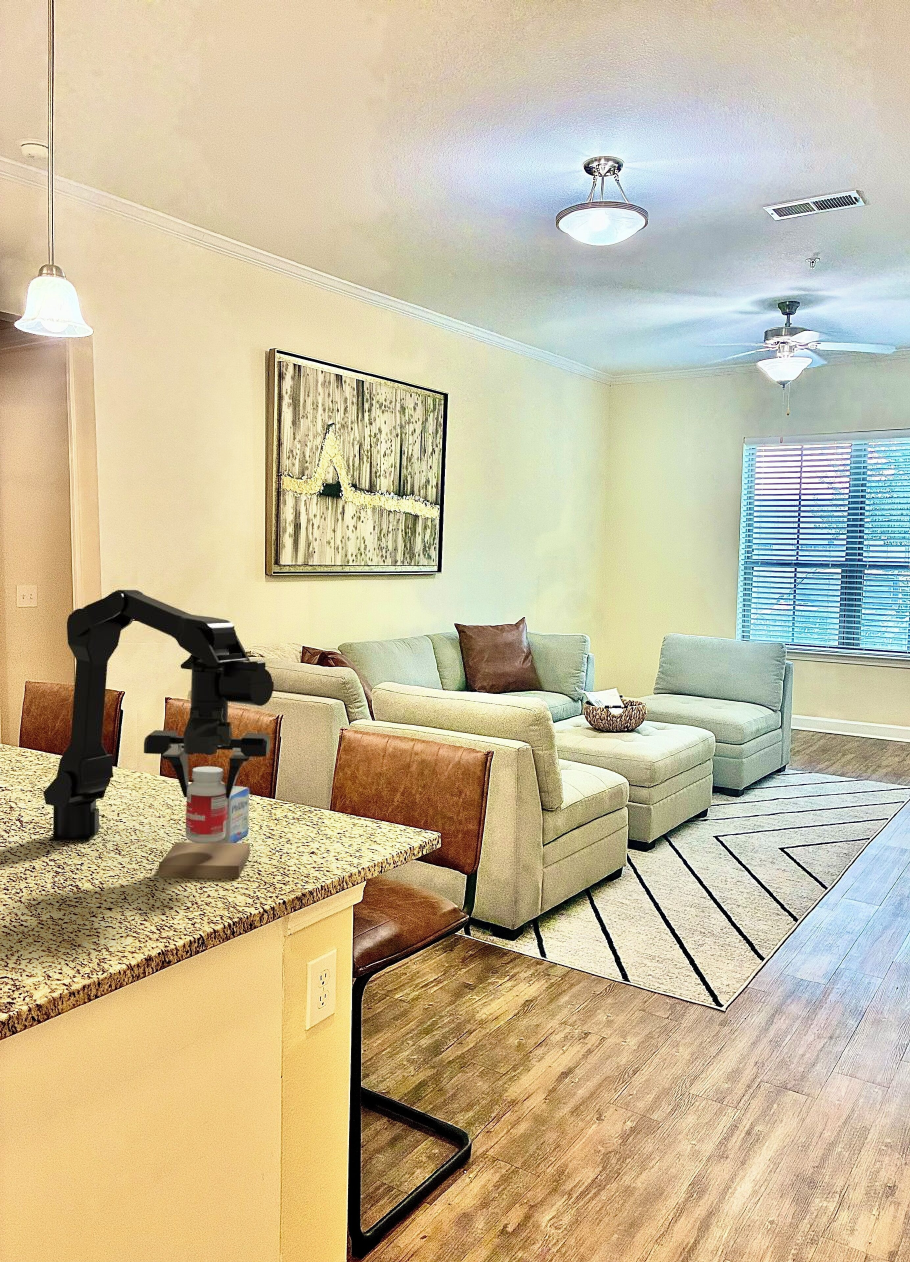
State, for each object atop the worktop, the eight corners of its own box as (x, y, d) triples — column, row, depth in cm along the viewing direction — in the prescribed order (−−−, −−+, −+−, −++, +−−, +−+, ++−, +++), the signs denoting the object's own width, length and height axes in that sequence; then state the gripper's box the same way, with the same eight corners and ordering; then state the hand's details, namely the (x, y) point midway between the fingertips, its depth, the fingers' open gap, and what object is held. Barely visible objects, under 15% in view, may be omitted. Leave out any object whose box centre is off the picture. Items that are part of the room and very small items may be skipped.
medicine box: (229, 847, 161) (230, 797, 160) (205, 844, 162) (206, 794, 161) (248, 835, 169) (250, 787, 168) (225, 832, 170) (226, 784, 169)
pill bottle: (177, 837, 150) (179, 768, 149) (210, 830, 154) (212, 763, 154) (200, 846, 146) (202, 775, 145) (233, 839, 150) (235, 770, 150)
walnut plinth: (158, 877, 144) (158, 864, 144) (175, 854, 156) (175, 842, 156) (238, 878, 145) (239, 865, 145) (249, 855, 157) (249, 843, 157)
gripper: (135, 705, 140) (133, 809, 141) (263, 709, 141) (260, 812, 142) (153, 694, 151) (151, 791, 152) (272, 698, 152) (268, 794, 153)
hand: (206, 797), depth 150 cm, fingers closed on pill bottle, 6 cm apart
